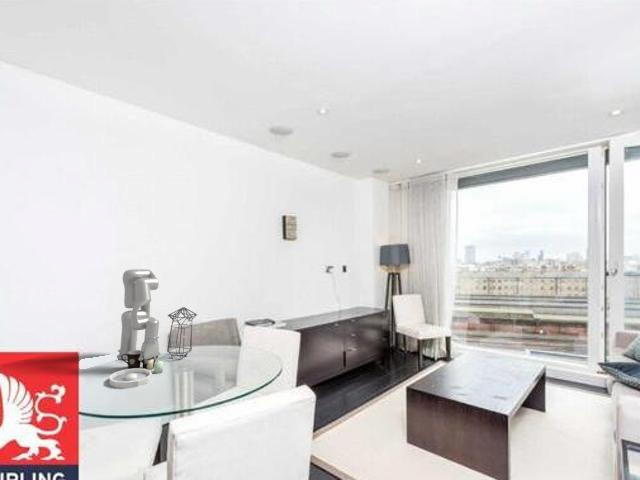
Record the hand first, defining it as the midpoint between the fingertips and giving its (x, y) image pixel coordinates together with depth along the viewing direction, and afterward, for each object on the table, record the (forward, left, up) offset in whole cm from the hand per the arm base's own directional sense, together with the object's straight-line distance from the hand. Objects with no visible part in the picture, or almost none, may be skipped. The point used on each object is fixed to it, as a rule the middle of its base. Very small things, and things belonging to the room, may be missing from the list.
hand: (148, 368), depth 214 cm
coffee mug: (-9, -5, -1) cm, 10 cm away
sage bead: (+9, 0, -1) cm, 9 cm away
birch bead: (0, 0, -1) cm, 1 cm away
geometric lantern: (-4, +27, -1) cm, 28 cm away
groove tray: (+8, -17, 0) cm, 19 cm away
